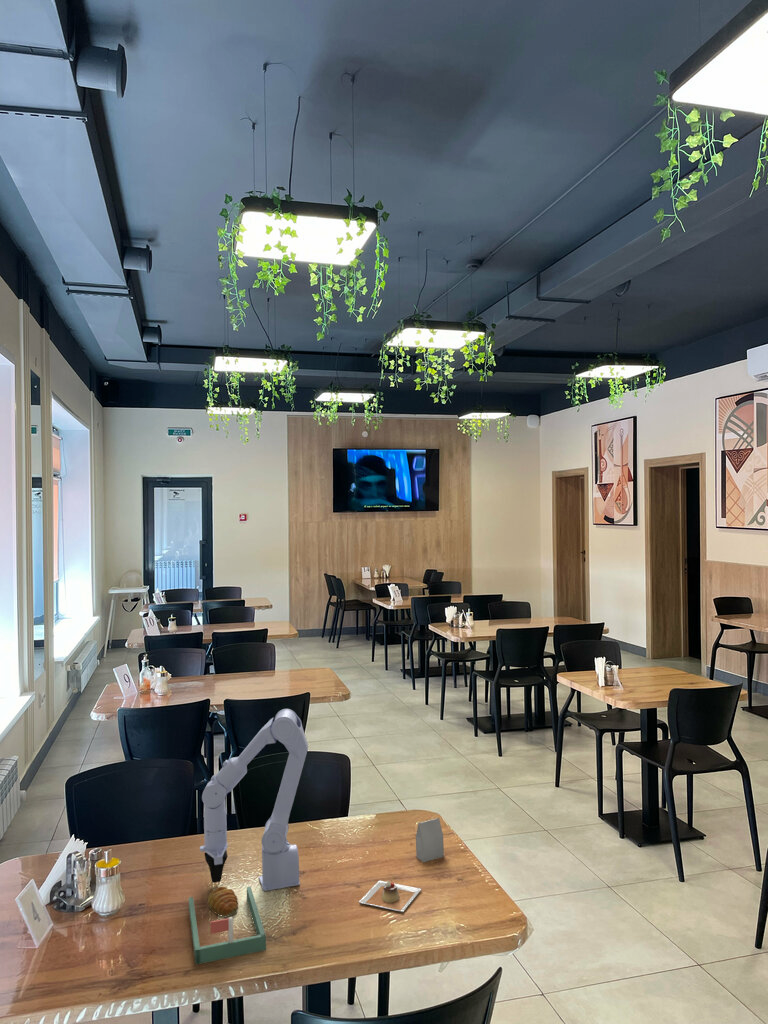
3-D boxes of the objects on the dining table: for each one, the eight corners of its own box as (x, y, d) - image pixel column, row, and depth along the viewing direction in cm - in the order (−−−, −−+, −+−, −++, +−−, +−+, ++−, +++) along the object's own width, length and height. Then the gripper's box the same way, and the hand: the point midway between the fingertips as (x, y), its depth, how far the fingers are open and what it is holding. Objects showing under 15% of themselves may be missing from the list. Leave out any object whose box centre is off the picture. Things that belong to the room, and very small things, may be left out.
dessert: (422, 893, 181) (421, 874, 181) (403, 916, 170) (402, 896, 170) (379, 884, 186) (378, 865, 186) (358, 906, 175) (357, 886, 175)
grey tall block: (443, 856, 200) (442, 820, 200) (423, 862, 197) (422, 825, 197) (436, 851, 203) (435, 816, 204) (416, 857, 200) (415, 821, 200)
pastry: (245, 913, 173) (244, 897, 173) (218, 922, 169) (218, 905, 169) (230, 897, 181) (230, 882, 181) (204, 905, 177) (204, 890, 177)
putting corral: (250, 898, 179) (250, 866, 180) (266, 950, 157) (265, 912, 157) (188, 910, 175) (188, 876, 175) (195, 964, 152) (194, 926, 152)
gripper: (197, 820, 193) (198, 871, 192) (201, 841, 179) (202, 896, 178) (224, 816, 195) (225, 867, 194) (230, 837, 181) (231, 891, 181)
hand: (216, 881), depth 186 cm, fingers closed
